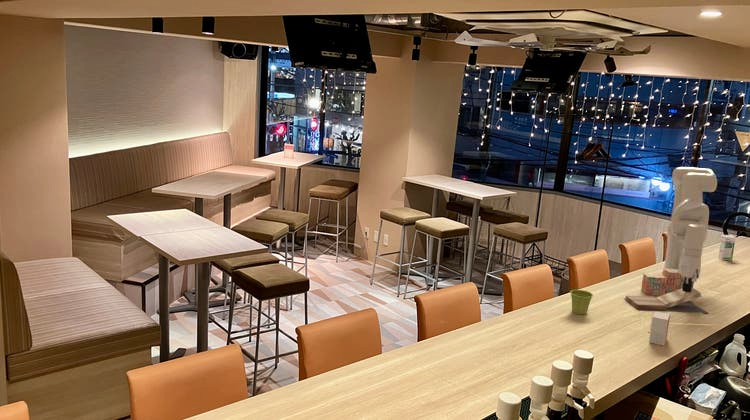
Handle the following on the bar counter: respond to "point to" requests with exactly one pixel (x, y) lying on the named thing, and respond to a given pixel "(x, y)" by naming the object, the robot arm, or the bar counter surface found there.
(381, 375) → the bar counter surface
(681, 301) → the plank
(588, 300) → the plant pot
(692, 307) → the underlay mat
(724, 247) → the syrup box
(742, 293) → the bar counter surface
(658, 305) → the laid board
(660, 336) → the small box
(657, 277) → the stack of blocks
